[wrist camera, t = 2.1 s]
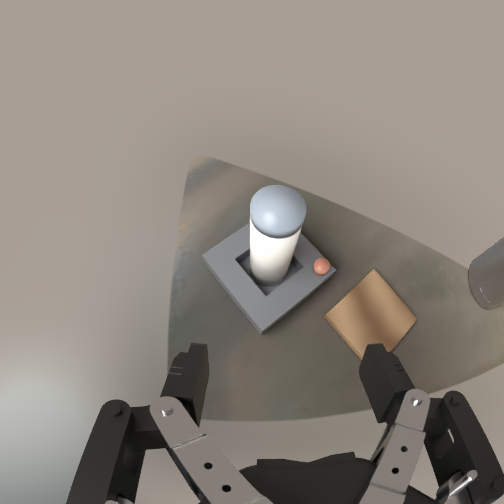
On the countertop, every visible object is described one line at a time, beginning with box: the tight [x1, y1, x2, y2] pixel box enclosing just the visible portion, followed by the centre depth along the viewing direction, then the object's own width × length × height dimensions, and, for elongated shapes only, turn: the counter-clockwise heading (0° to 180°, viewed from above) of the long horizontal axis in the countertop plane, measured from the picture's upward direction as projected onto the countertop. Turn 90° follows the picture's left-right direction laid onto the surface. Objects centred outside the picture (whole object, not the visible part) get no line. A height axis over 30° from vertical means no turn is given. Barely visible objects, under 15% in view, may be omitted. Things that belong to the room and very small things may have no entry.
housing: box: [202, 223, 336, 334], centre depth 32 cm, size 11×11×4 cm
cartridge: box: [250, 185, 306, 287], centre depth 27 cm, size 4×4×13 cm
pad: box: [323, 269, 417, 360], centre depth 31 cm, size 9×9×1 cm
